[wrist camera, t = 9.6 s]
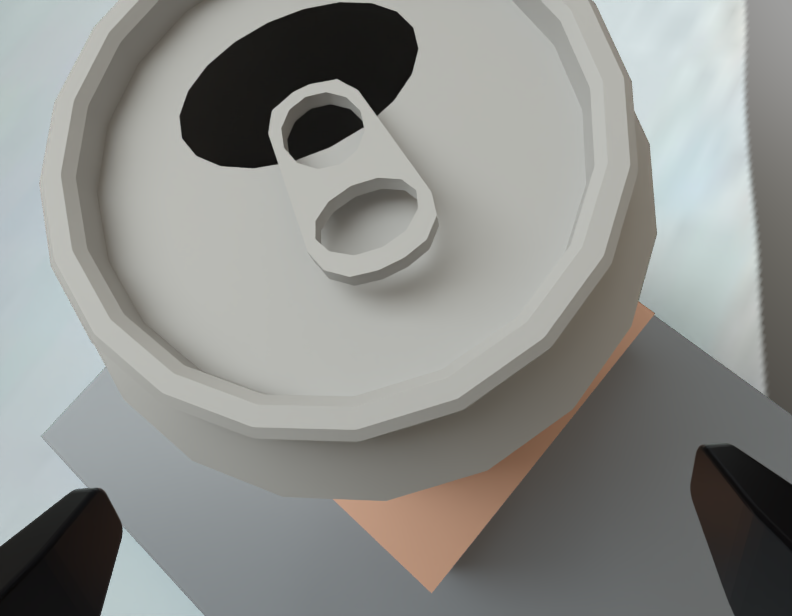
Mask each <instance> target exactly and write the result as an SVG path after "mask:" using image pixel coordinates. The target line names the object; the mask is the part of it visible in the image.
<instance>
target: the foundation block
mask: <svg viewBox="0 0 792 616" xmlns="http://www.w3.org/2000/svg"><path fill="white" fill-rule="evenodd" d="M654 314H655V313H654V312H652V311H651V310H650V309H648V308H647V307H645V306H644V305H643V304H641V303H640V302H638V304H637V308H636V311H635V315H634V319H633V322H632V326H631V328H630V329H629V330H628V332H627V333H626V335H625V336H624V338H623V339H622V340H621V342H620V343H619V345H618V346H617V347H616V349H615V350H614V352H613V353H612V355H611V356H610V357H609V359H608V360H607V362H606V363H605V364H604V366H603V367H602V369H601V370H600V372H599V373H598V374H597V376H596V377H595V379H594V380H593V381H592V383H591V384H590V386H589V387H588V389H587V390H586V391H585V393H584V394H583V396H582V397H581V399H580V400H579V401H578V403H577V404H576V406H575V407H574V408H573V410H571V411H570V412H568V413H567V414H566V415H564V416H563V417H561V418H560V419H559V420H557V421H556V422H554V423H553V424H552V425H550V426H549V427H547V428H546V429H545V430H543V431H542V432H540V433H539V434H538V435H536V436H535V437H534V438H532V439H531V440H529V441H528V442H527V443H525V444H524V445H522V446H521V447H520V448H518V449H517V450H515V451H514V452H513V453H511V454H510V455H508V456H507V457H506V458H504V459H503V460H501V461H500V462H499V463H497V464H496V465H494V466H493V467H492V468H490V469H489V470H487V471H484V472H481V473H478V474H474V475H471V476H468V477H464V478H461V479H458V480H454V481H451V482H448V483H444V484H441V485H438V486H434V487H431V488H428V489H424V490H421V491H418V492H415V493H411V494H408V495H405V496H401V497H398V498H395V499H391V500H388V501H372V500H346V499H333V500H334V501H335V502H336V503H337V504H338V505H339V506H340V507H341V508H343V509H344V510H345V511H346V512H347V513H348V514H349V515H350V516H351V517H352V518H353V519H354V520H355V521H356V522H357V523H358V524H359V525H360V526H361V527H362V528H364V529H365V530H366V531H367V532H368V533H369V534H370V535H371V536H372V537H373V538H374V539H375V540H376V541H377V542H378V543H379V544H380V545H381V546H382V547H383V548H384V549H386V550H387V551H388V552H389V553H390V554H391V555H392V556H393V557H394V558H395V559H396V560H397V561H398V562H399V563H400V564H401V565H402V566H403V567H404V568H405V569H407V570H408V571H409V572H410V573H411V574H412V575H413V576H414V577H415V578H416V579H417V580H418V581H419V582H420V583H421V584H422V585H423V586H424V587H425V588H426V589H427V590H429V591H430V592H431V593H432V592H433V591H434V590H435V588H436V587H437V586H438V585H439V583H440V582H441V581H442V580H443V578H444V577H445V576H446V575H447V573H448V572H449V571H450V570H451V568H452V567H453V566H454V565H455V563H456V562H457V561H458V560H459V558H460V557H461V556H462V555H463V553H464V552H465V551H466V550H467V548H468V547H469V546H470V545H471V543H472V542H473V541H474V540H475V538H476V537H477V536H478V535H479V533H480V532H481V531H482V530H483V528H484V527H485V526H486V525H487V523H488V522H489V521H490V520H491V518H492V517H493V516H494V515H495V513H496V512H497V511H498V510H499V508H500V507H501V506H502V505H503V503H504V502H505V501H506V500H507V498H508V497H509V496H510V495H511V493H512V492H513V491H514V490H515V488H516V487H517V486H518V485H519V483H520V482H521V481H522V480H523V478H524V477H525V476H526V475H527V473H528V472H529V471H530V470H531V468H532V467H533V466H534V464H535V463H536V462H537V461H538V459H539V458H540V457H541V456H542V454H543V453H544V452H545V451H546V449H547V448H548V447H549V446H550V444H551V443H552V442H553V441H554V439H555V438H556V437H557V436H558V434H559V433H560V432H561V431H562V429H563V428H564V427H565V426H566V424H567V423H568V422H569V421H570V419H571V418H572V417H573V416H574V414H575V413H576V412H577V411H578V409H579V408H580V407H581V406H582V404H583V403H584V402H585V401H586V399H587V398H588V397H589V396H590V394H591V393H592V392H593V391H594V389H595V388H596V387H597V386H598V384H599V383H600V382H601V381H602V379H603V378H604V377H605V376H606V374H607V373H608V372H609V371H610V369H611V368H612V367H613V366H614V364H615V363H616V362H617V361H618V359H619V358H620V357H621V356H622V354H623V353H624V352H625V351H626V349H627V348H628V347H629V346H630V344H631V343H632V342H633V341H634V339H635V338H636V337H637V336H638V334H639V333H640V332H641V331H642V329H643V328H644V327H645V325H646V324H647V323H648V322H649V320H650V319H651V318H652V317H653V315H654Z"/></svg>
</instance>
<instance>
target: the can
mask: <svg viewBox="0 0 792 616" xmlns="http://www.w3.org/2000/svg"><path fill="white" fill-rule="evenodd" d="M39 185H40V192H41V199H42V206H43V213H44V221H45V228H46V235H47V242H48V249H49V256H50V263H51V267H52V269H53V271H54V273H55V275H56V277H57V279H58V280H59V282H60V284H61V286H62V288H63V290H64V292H65V294H66V295H67V297H68V299H69V301H70V303H71V305H72V307H73V308H74V310H75V312H76V314H77V316H78V318H79V320H80V322H81V323H82V325H83V327H84V329H85V331H86V333H87V335H88V337H89V338H90V340H91V342H92V343H93V344H94V345H95V347H96V349H97V351H98V353H99V354H100V356H101V358H102V360H103V362H104V364H105V366H106V367H107V369H108V371H109V373H110V375H111V377H112V379H113V381H114V382H115V384H116V386H117V388H118V390H119V392H120V394H121V395H122V397H123V399H124V400H125V401H126V402H127V403H128V404H129V405H130V406H131V407H133V408H134V409H135V410H136V411H137V412H138V413H139V414H140V415H142V416H143V417H144V418H145V419H146V420H147V421H148V422H149V423H150V424H152V425H153V426H154V427H155V428H156V429H157V430H158V431H159V432H161V433H162V434H163V435H164V436H165V437H166V438H167V439H168V440H170V441H171V442H172V443H173V444H174V445H175V446H176V447H177V448H179V449H180V450H181V451H182V452H183V453H184V454H185V455H186V456H187V457H189V458H190V459H191V460H192V461H194V462H196V463H199V464H201V465H204V466H206V467H209V468H212V469H214V470H217V471H219V472H222V473H224V474H227V475H229V476H232V477H234V478H237V479H239V480H242V481H244V482H247V483H249V484H252V485H254V486H257V487H259V488H262V489H264V490H267V491H269V492H272V493H274V494H277V495H279V496H282V497H294V498H320V499H346V500H372V501H388V500H391V499H395V498H398V497H401V496H405V495H408V494H411V493H415V492H418V491H421V490H424V489H428V488H431V487H434V486H438V485H441V484H444V483H448V482H451V481H454V480H458V479H461V478H464V477H468V476H471V475H474V474H478V473H481V472H484V471H487V470H489V469H490V468H492V467H493V466H494V465H496V464H497V463H499V462H500V461H501V460H503V459H504V458H506V457H507V456H508V455H510V454H511V453H513V452H514V451H515V450H517V449H518V448H520V447H521V446H522V445H524V444H525V443H527V442H528V441H529V440H531V439H532V438H534V437H535V436H536V435H538V434H539V433H540V432H542V431H543V430H545V429H546V428H547V427H549V426H550V425H552V424H553V423H554V422H556V421H557V420H559V419H560V418H561V417H563V416H564V415H566V414H567V413H568V412H570V411H571V410H573V408H574V407H575V406H576V404H577V403H578V401H579V400H580V399H581V397H582V396H583V394H584V393H585V391H586V390H587V389H588V387H589V386H590V384H591V383H592V381H593V380H594V379H595V377H596V376H597V374H598V373H599V372H600V370H601V369H602V367H603V366H604V364H605V363H606V362H607V360H608V359H609V357H610V356H611V355H612V353H613V352H614V350H615V349H616V347H617V346H618V345H619V343H620V342H621V340H622V339H623V338H624V336H625V335H626V333H627V332H628V330H629V329H630V328H631V326H632V322H633V319H634V315H635V311H636V308H637V304H638V301H639V297H640V293H641V290H642V286H643V283H644V279H645V275H646V272H647V268H648V264H649V261H650V257H651V254H652V250H653V246H654V243H655V239H656V236H657V229H656V217H655V205H654V192H653V180H652V168H651V156H650V144H649V142H648V140H647V137H646V135H645V133H644V131H643V129H642V127H641V124H640V122H639V120H638V118H637V116H636V114H635V111H634V105H633V92H632V81H631V79H630V77H629V75H628V72H627V70H626V68H625V66H624V64H623V62H622V60H621V57H620V55H619V53H618V51H617V49H616V47H615V45H614V42H613V40H612V38H611V36H610V34H609V32H608V29H607V27H606V25H605V23H604V21H603V19H602V17H601V14H600V12H599V10H598V8H597V6H596V4H595V3H594V2H593V1H592V0H119V1H118V2H117V3H116V4H115V5H114V6H113V7H112V8H111V9H110V10H109V11H108V13H107V14H106V15H105V16H104V17H103V18H102V19H101V20H100V21H99V22H98V23H97V24H96V25H95V27H94V28H93V30H92V32H91V33H90V35H89V37H88V39H87V41H86V43H85V45H84V47H83V49H82V51H81V53H80V55H79V56H78V58H77V60H76V62H75V64H74V66H73V68H72V70H71V72H70V74H69V76H68V77H67V79H66V81H65V83H64V85H63V87H62V89H61V91H60V93H59V95H58V97H57V99H56V100H55V102H54V108H53V113H52V118H51V124H50V129H49V134H48V140H47V145H46V150H45V156H44V161H43V166H42V172H41V177H40V182H39Z"/></svg>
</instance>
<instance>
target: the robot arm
mask: <svg viewBox="0 0 792 616" xmlns="http://www.w3.org/2000/svg"><path fill="white" fill-rule="evenodd" d="M690 492H691V498H692V501H693V504H694V507H695V510H696V513H697V516H698V519H699V521H700V524H701V527H702V530H703V533H704V536H705V538H706V541H707V544H708V547H709V550H710V553H711V555H712V558H713V561H714V564H715V567H716V570H717V572H718V575H719V578H720V581H721V584H722V587H723V589H724V592H725V595H726V597H727V600H728V602H729V605H730V607H731V609H732V612H733V614H734V616H792V484H791V483H789V482H788V481H786V480H785V479H783V478H782V477H780V476H779V475H777V474H776V473H774V472H773V471H771V470H770V469H768V468H767V467H765V466H764V465H762V464H761V463H759V462H758V461H757V460H755V459H754V458H752V457H751V456H749V455H748V454H746V453H745V452H743V451H742V450H740V449H739V448H737V447H736V446H734V445H732V444H730V443H714V444H703V445H700V446H699V447H698V449H697V451H696V455H695V461H694V466H693V471H692V477H691V482H690ZM122 532H123V530H122V523H121V520H120V518H119V516H118V514H117V512H116V510H115V508H114V507H113V505H112V503H111V501H110V499H109V497H108V495H107V493H106V492H105V491H104V490H103V489H101V488H83V489H76V490H73V491H71V492H70V493H69V494H67V495H66V496H65V497H63V498H62V499H61V500H60V501H58V502H57V503H56V504H54V505H53V506H52V507H51V508H49V509H48V510H47V511H45V512H44V513H43V514H42V515H40V516H39V517H38V518H36V519H35V520H34V521H33V522H31V523H30V524H29V525H27V526H26V527H25V528H23V529H22V530H21V531H20V532H18V533H17V534H16V535H14V536H13V537H12V538H11V539H9V540H8V541H7V542H5V543H4V544H3V545H2V546H0V616H100V615H101V611H102V608H103V604H104V601H105V597H106V593H107V590H108V586H109V582H110V579H111V575H112V572H113V568H114V564H115V561H116V557H117V553H118V550H119V546H120V543H121V539H122Z"/></svg>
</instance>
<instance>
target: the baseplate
mask: <svg viewBox="0 0 792 616" xmlns="http://www.w3.org/2000/svg"><path fill="white" fill-rule="evenodd" d="M41 437H42V438H43V439H44V440H45V442H46V443H47V444H48V445H49V446H50V447H51V448H52V449H53V450H54V451H55V452H56V454H57V455H58V456H59V457H60V458H61V459H62V460H63V461H64V462H65V463H66V465H67V466H68V467H69V468H70V469H71V470H72V471H73V472H74V473H75V474H76V475H77V477H78V478H79V479H80V480H81V481H82V482H83V483H84V484H85V485H86V486H87V487H88V488H101V489H103V490H104V491H105V492H106V493H107V495H108V497H109V499H110V501H111V503H112V505H113V507H114V508H115V510H116V512H117V514H118V516H119V518H120V520H121V523H122V526H123V527H124V528H125V529H126V530H127V531H128V532H129V533H130V534H131V536H132V537H133V538H134V539H135V540H136V541H137V542H138V543H139V544H140V545H141V547H142V548H143V549H144V550H145V551H146V552H147V553H148V554H149V555H150V556H151V557H152V559H153V560H154V561H155V562H156V563H157V564H158V565H159V566H160V567H161V568H162V569H163V571H164V572H165V573H166V574H167V575H168V576H169V577H170V578H171V579H172V580H173V582H174V583H175V584H176V585H177V586H178V587H179V588H180V589H181V590H182V591H183V592H184V594H185V595H186V596H187V597H188V598H189V599H190V600H191V601H192V602H193V603H194V604H195V606H196V607H197V608H198V609H199V610H200V611H201V612H202V613H203V614H204V615H205V616H734V614H733V612H732V609H731V607H730V605H729V602H728V600H727V597H726V595H725V592H724V589H723V587H722V584H721V581H720V578H719V575H718V572H717V570H716V567H715V564H714V561H713V558H712V555H711V553H710V550H709V547H708V544H707V541H706V538H705V536H704V533H703V530H702V527H701V524H700V521H699V519H698V516H697V513H696V510H695V507H694V504H693V501H692V498H691V492H690V482H691V477H692V471H693V466H694V461H695V455H696V451H697V449H698V447H699V446H700V445H703V444H714V443H730V444H732V445H734V446H736V447H737V448H739V449H740V450H742V451H743V452H745V453H746V454H748V455H749V456H751V457H752V458H754V459H755V460H757V461H758V462H759V463H761V464H762V465H764V466H765V467H767V468H768V469H770V470H771V471H773V472H774V473H776V474H777V475H779V476H780V477H782V478H783V479H785V480H786V481H788V482H789V483H791V484H792V415H791V414H789V413H788V412H787V411H785V410H784V409H783V408H781V407H780V406H779V405H777V404H776V403H774V402H773V401H772V400H770V399H769V398H768V397H766V396H765V395H763V394H762V393H761V392H759V391H758V390H757V389H755V388H754V387H752V386H751V385H750V384H748V383H747V382H746V381H744V380H743V379H741V378H740V377H739V376H737V375H736V374H735V373H733V372H732V371H730V370H729V369H728V368H726V367H725V366H723V365H722V364H721V363H719V362H718V361H717V360H715V359H714V358H712V357H711V356H710V355H708V354H707V353H706V352H704V351H703V350H701V349H700V348H699V347H697V346H696V345H695V344H693V343H692V342H690V341H689V340H688V339H686V338H685V337H684V336H682V335H681V334H679V333H678V332H677V331H675V330H674V329H672V328H671V327H670V326H668V325H667V324H666V323H664V322H663V321H661V320H660V319H659V318H657V317H656V316H655V315H653V317H652V318H651V319H650V320H649V322H648V323H647V324H646V325H645V327H644V328H643V329H642V331H641V332H640V333H639V334H638V336H637V337H636V338H635V339H634V341H633V342H632V343H631V344H630V346H629V347H628V348H627V349H626V351H625V352H624V353H623V354H622V356H621V357H620V358H619V359H618V361H617V362H616V363H615V364H614V366H613V367H612V368H611V369H610V371H609V372H608V373H607V374H606V376H605V377H604V378H603V379H602V381H601V382H600V383H599V384H598V386H597V387H596V388H595V389H594V391H593V392H592V393H591V394H590V396H589V397H588V398H587V399H586V401H585V402H584V403H583V404H582V406H581V407H580V408H579V409H578V411H577V412H576V413H575V414H574V416H573V417H572V418H571V419H570V421H569V422H568V423H567V424H566V426H565V427H564V428H563V429H562V431H561V432H560V433H559V434H558V436H557V437H556V438H555V439H554V441H553V442H552V443H551V444H550V446H549V447H548V448H547V449H546V451H545V452H544V453H543V454H542V456H541V457H540V458H539V459H538V461H537V462H536V463H535V464H534V466H533V467H532V468H531V470H530V471H529V472H528V473H527V475H526V476H525V477H524V478H523V480H522V481H521V482H520V483H519V485H518V486H517V487H516V488H515V490H514V491H513V492H512V493H511V495H510V496H509V497H508V498H507V500H506V501H505V502H504V503H503V505H502V506H501V507H500V508H499V510H498V511H497V512H496V513H495V515H494V516H493V517H492V518H491V520H490V521H489V522H488V523H487V525H486V526H485V527H484V528H483V530H482V531H481V532H480V533H479V535H478V536H477V537H476V538H475V540H474V541H473V542H472V543H471V545H470V546H469V547H468V548H467V550H466V551H465V552H464V553H463V555H462V556H461V557H460V558H459V560H458V561H457V562H456V563H455V565H454V566H453V567H452V568H451V570H450V571H449V572H448V573H447V575H446V576H445V577H444V578H443V580H442V581H441V582H440V583H439V585H438V586H437V587H436V588H435V590H434V591H433V592H432V593H431V592H430V591H429V590H427V589H426V588H425V587H424V586H423V585H422V584H421V583H420V582H419V581H418V580H417V579H416V578H415V577H414V576H413V575H412V574H411V573H410V572H409V571H408V570H407V569H405V568H404V567H403V566H402V565H401V564H400V563H399V562H398V561H397V560H396V559H395V558H394V557H393V556H392V555H391V554H390V553H389V552H388V551H387V550H386V549H384V548H383V547H382V546H381V545H380V544H379V543H378V542H377V541H376V540H375V539H374V538H373V537H372V536H371V535H370V534H369V533H368V532H367V531H366V530H365V529H364V528H362V527H361V526H360V525H359V524H358V523H357V522H356V521H355V520H354V519H353V518H352V517H351V516H350V515H349V514H348V513H347V512H346V511H345V510H344V509H343V508H341V507H340V506H339V505H338V504H337V503H336V502H335V501H334V500H333V499H320V498H294V497H282V496H279V495H277V494H274V493H272V492H269V491H267V490H264V489H262V488H259V487H257V486H254V485H252V484H249V483H247V482H244V481H242V480H239V479H237V478H234V477H232V476H229V475H227V474H224V473H222V472H219V471H217V470H214V469H212V468H209V467H206V466H204V465H201V464H199V463H196V462H194V461H192V460H191V459H190V458H189V457H187V456H186V455H185V454H184V453H183V452H182V451H181V450H180V449H179V448H177V447H176V446H175V445H174V444H173V443H172V442H171V441H170V440H168V439H167V438H166V437H165V436H164V435H163V434H162V433H161V432H159V431H158V430H157V429H156V428H155V427H154V426H153V425H152V424H150V423H149V422H148V421H147V420H146V419H145V418H144V417H143V416H142V415H140V414H139V413H138V412H137V411H136V410H135V409H134V408H133V407H131V406H130V405H129V404H128V403H127V402H126V401H125V400H124V399H123V397H122V395H121V394H120V392H119V390H118V388H117V386H116V384H115V382H114V381H113V379H112V377H111V375H110V373H109V371H108V369H107V367H105V368H104V369H103V370H102V371H101V372H100V373H99V374H98V375H97V377H96V378H95V379H94V380H93V381H92V382H91V383H90V384H89V385H88V386H87V387H86V388H85V389H84V391H83V392H82V393H81V394H80V395H79V396H78V397H77V398H76V399H75V400H74V401H73V402H72V403H71V404H70V406H69V407H68V408H67V409H66V410H65V411H64V412H63V413H62V414H61V415H60V416H59V417H58V418H57V420H56V421H55V422H54V423H53V424H52V425H51V426H50V427H49V428H48V429H47V430H46V431H45V432H44V433H43V435H42V436H41Z"/></svg>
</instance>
